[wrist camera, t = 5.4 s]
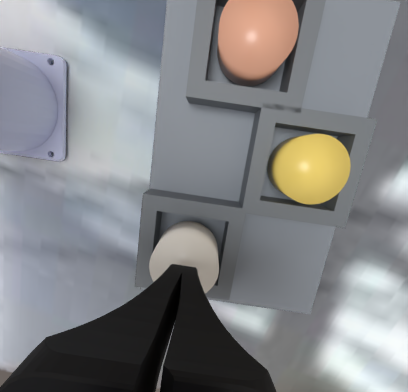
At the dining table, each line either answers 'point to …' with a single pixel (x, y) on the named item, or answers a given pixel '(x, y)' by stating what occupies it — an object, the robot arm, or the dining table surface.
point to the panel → (260, 145)
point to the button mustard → (309, 168)
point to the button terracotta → (255, 38)
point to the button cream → (187, 252)
